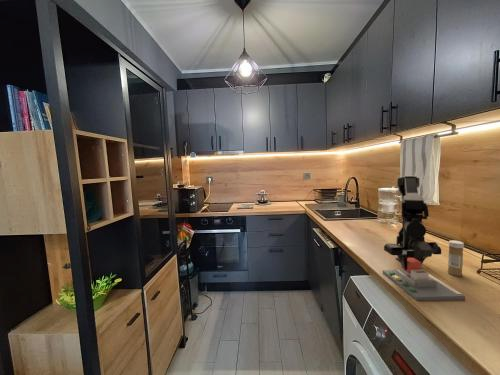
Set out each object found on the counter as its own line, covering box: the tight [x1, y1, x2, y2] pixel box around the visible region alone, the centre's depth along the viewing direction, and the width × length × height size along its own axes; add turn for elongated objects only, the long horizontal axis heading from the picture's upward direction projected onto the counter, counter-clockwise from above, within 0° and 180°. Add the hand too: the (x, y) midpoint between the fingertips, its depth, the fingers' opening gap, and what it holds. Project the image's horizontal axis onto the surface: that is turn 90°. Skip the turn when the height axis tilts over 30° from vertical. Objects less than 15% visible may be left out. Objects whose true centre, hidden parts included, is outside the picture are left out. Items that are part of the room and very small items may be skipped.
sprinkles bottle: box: [447, 239, 465, 277], centre depth 94 cm, size 5×5×13 cm
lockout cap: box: [401, 258, 422, 273], centre depth 91 cm, size 4×4×4 cm
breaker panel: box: [382, 269, 466, 301], centre depth 87 cm, size 20×16×3 cm
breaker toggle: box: [411, 268, 430, 281], centre depth 86 cm, size 3×4×4 cm
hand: (411, 269), depth 91 cm, fingers closed on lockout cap, 4 cm apart
